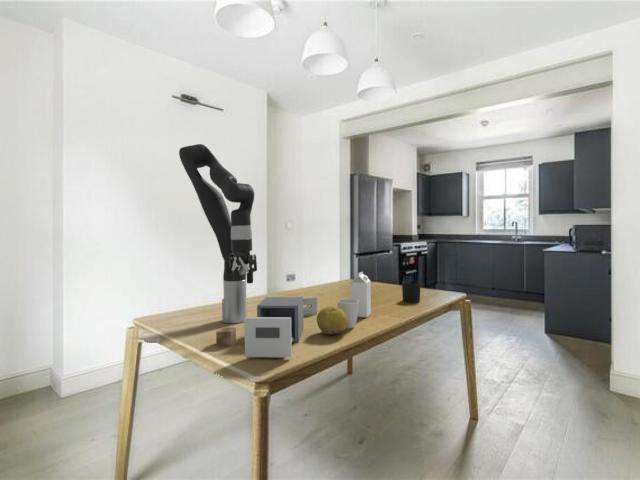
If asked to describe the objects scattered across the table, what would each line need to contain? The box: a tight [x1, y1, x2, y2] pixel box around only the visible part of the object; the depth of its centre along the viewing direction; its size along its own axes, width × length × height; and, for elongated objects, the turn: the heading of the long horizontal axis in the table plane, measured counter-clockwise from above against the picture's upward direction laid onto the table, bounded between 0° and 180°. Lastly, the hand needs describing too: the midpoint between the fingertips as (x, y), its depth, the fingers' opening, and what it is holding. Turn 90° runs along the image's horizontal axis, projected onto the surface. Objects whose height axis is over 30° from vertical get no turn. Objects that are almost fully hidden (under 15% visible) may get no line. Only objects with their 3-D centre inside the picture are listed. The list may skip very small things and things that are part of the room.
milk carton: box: [350, 271, 372, 318], centre depth 155 cm, size 7×7×19 cm
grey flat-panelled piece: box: [243, 316, 293, 358], centre depth 110 cm, size 14×15×11 cm
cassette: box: [303, 296, 318, 317], centre depth 157 cm, size 12×2×8 cm, turn 113°
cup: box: [337, 298, 358, 329], centre depth 137 cm, size 8×8×10 cm
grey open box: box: [256, 296, 304, 343], centre depth 127 cm, size 14×15×12 cm
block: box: [215, 326, 237, 348], centre depth 118 cm, size 5×5×5 cm
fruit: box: [316, 305, 348, 335], centre depth 128 cm, size 11×12×10 cm
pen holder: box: [401, 280, 421, 303], centre depth 185 cm, size 9×9×10 cm
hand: (243, 282), depth 130 cm, fingers open, 8 cm apart
